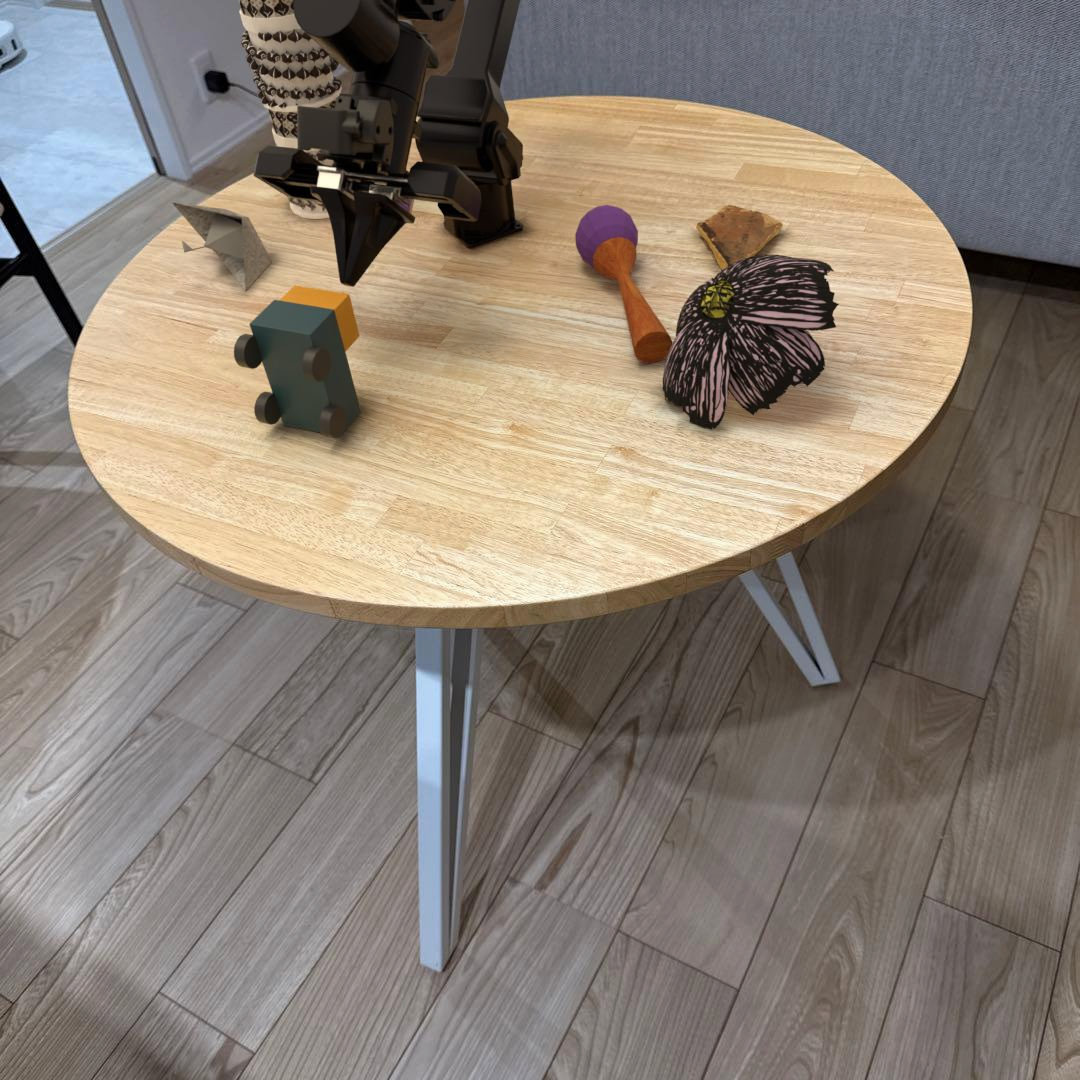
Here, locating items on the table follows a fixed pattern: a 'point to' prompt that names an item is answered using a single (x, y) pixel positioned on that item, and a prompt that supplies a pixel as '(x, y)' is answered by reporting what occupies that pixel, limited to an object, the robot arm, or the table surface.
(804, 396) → the table surface
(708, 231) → the shard
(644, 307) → the purple and orange maraca
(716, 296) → the decorative flower
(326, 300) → the toy truck
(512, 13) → the robot arm
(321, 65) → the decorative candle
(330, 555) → the table surface
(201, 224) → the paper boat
